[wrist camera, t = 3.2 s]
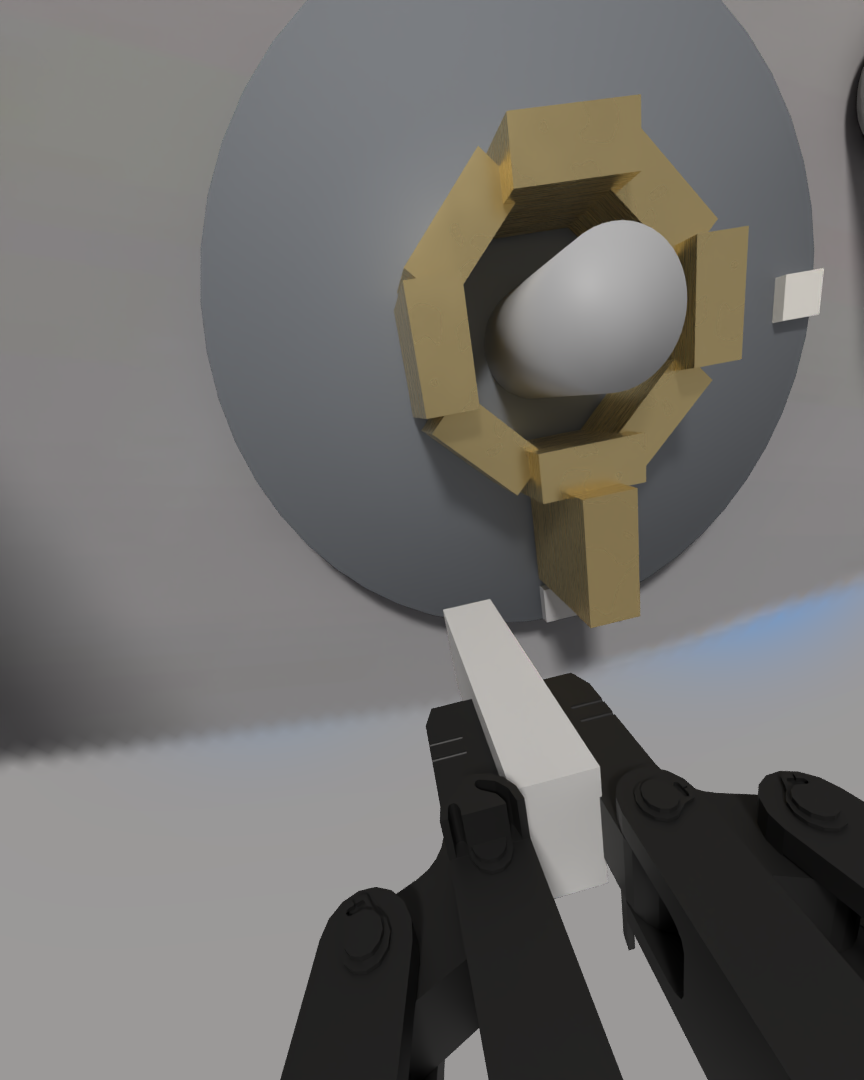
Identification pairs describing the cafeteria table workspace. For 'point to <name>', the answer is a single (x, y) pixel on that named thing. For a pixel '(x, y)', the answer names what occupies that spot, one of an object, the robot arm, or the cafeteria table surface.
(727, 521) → the cafeteria table surface
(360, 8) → the flange
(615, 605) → the ring nut
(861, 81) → the beverage can
